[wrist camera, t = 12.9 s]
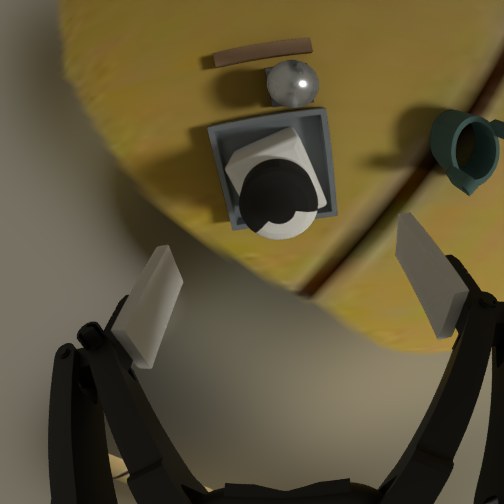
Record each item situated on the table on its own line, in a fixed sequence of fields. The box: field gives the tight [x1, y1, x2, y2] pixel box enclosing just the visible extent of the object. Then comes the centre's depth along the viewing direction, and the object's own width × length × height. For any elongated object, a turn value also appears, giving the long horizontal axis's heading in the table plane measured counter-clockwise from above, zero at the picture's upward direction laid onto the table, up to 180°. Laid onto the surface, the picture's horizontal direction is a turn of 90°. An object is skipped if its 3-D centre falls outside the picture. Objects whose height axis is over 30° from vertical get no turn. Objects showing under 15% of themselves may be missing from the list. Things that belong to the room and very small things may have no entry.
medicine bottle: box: [225, 127, 327, 240], centre depth 26 cm, size 7×7×12 cm
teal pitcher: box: [430, 110, 504, 196], centre depth 24 cm, size 9×9×9 cm
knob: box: [265, 60, 319, 108], centre depth 24 cm, size 5×5×6 cm
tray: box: [207, 107, 337, 230], centre depth 31 cm, size 12×12×2 cm
